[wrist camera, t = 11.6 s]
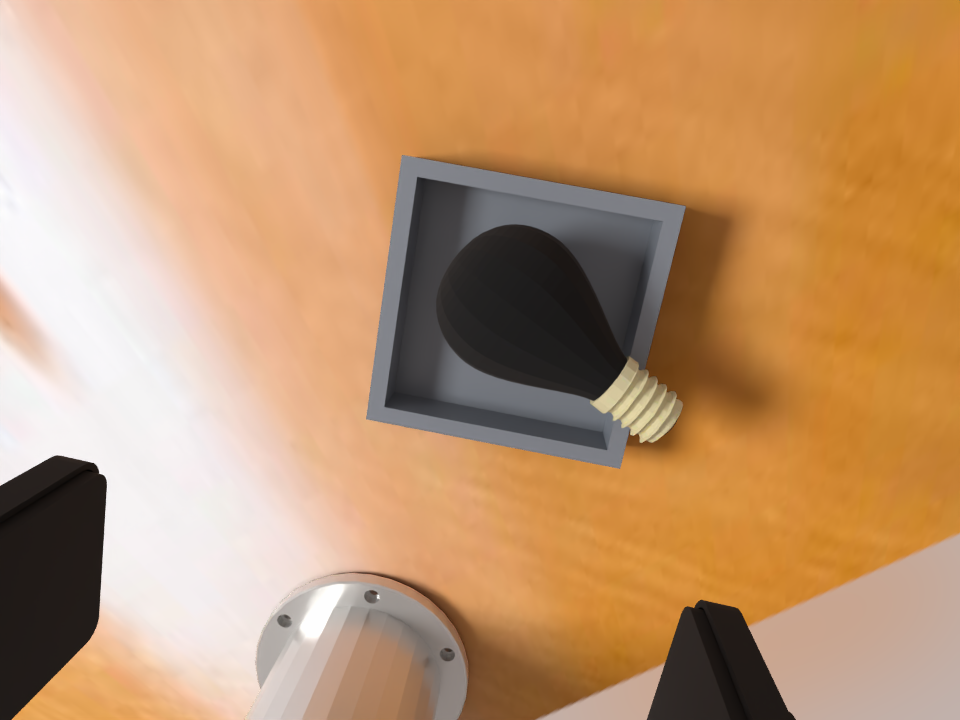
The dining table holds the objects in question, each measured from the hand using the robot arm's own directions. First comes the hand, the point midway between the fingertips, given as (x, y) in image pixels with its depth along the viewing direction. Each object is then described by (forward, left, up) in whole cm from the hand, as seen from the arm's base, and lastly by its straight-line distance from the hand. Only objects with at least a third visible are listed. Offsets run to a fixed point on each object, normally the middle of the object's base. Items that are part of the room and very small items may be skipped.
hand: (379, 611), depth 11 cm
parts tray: (+1, -1, -25) cm, 25 cm away
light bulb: (0, -4, -23) cm, 23 cm away
